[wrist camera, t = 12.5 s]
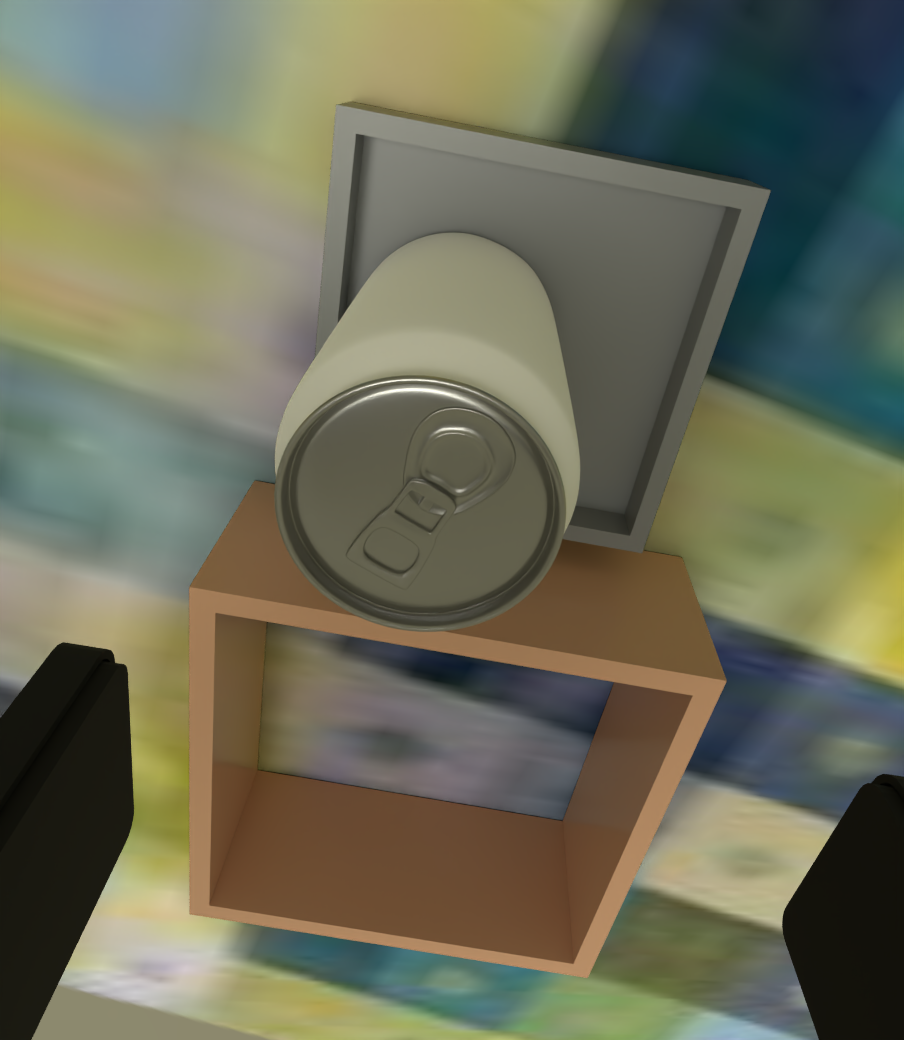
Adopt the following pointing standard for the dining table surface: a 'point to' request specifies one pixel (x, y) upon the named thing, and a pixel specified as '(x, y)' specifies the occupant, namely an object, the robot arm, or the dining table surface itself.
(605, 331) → the tray
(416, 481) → the can
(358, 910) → the brown square frame
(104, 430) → the dining table surface
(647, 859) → the dining table surface
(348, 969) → the dining table surface
